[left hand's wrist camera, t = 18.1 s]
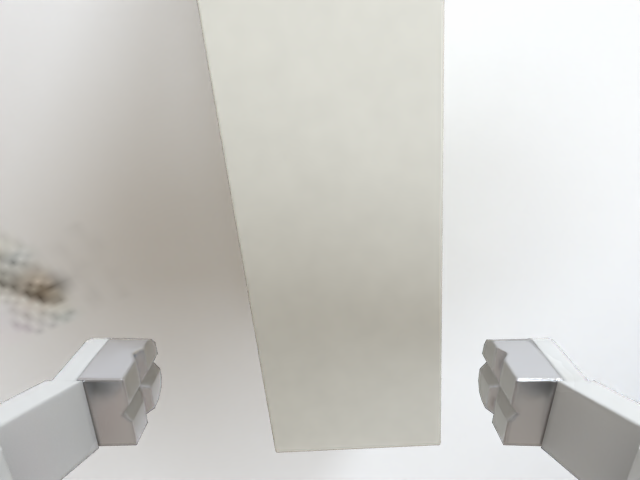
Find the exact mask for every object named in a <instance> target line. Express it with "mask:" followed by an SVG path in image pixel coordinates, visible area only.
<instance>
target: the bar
mask: <svg viewBox="0 0 640 480" xmlns="http://www.w3.org/2000/svg"><path fill="white" fill-rule="evenodd" d="M197 5H198V10H199V16H200V22H201V28H202V33H203V39H204V45H205V50H206V56H207V62H208V68H209V73H210V79H211V85H212V91H213V96H214V102H215V108H216V113H217V119H218V125H219V131H220V136H221V142H222V148H223V153H224V159H225V165H226V171H227V176H228V182H229V188H230V193H231V199H232V205H233V211H234V216H235V222H236V228H237V234H238V239H239V245H240V251H241V256H242V262H243V268H244V274H245V279H246V285H247V291H248V296H249V302H250V308H251V314H252V319H253V325H254V331H255V336H256V342H257V348H258V354H259V359H260V365H261V371H262V377H263V382H264V388H265V394H266V399H267V405H268V411H269V417H270V422H271V428H272V434H273V439H274V445H275V451H276V452H277V453H279V452H300V451H322V450H343V449H365V448H386V447H408V446H429V445H440V443H441V342H442V224H443V106H444V0H197Z"/></svg>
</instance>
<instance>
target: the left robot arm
mask: <svg viewBox="0 0 640 480" xmlns="http://www.w3.org/2000/svg"><path fill="white" fill-rule="evenodd" d="M157 354H158V353H157V348H156V343H155V342H154V341H153V340H152V339H126V338H112V339H111V338H92V339H88V340H87V341H86V342H85V343H84V344H83V345H82V346H81V347H80V349H79V350H78V351H77V352H76V353H75V354H74V356H73V357H72V358H71V359H70V360H69V361H68V362H67V364H66V365H65V366H64V367H63V368H62V369H61V371H60V372H59V373H58V374H57V375H56V376H55V378H54V379H53V380H52V381H44V382H42V383H40V384H38V385H36V386H34V387H32V388H30V389H28V390H26V391H24V392H22V393H20V394H18V395H16V396H14V397H12V398H10V399H8V400H6V401H4V402H2V403H0V480H62V479H63V478H64V477H65V476H66V475H68V474H69V473H70V472H71V471H72V470H74V469H75V468H76V467H77V466H78V465H79V464H81V463H82V462H83V461H84V460H85V459H87V458H88V457H89V456H90V455H91V454H92V453H94V452H95V451H96V450H97V449H98V448H99V446H119V445H137V443H138V441H139V439H140V437H141V435H142V433H143V431H144V429H145V427H146V425H147V423H148V421H147V415H146V414H147V413H149V412H150V411H151V410H153V409H154V408H155V406H156V404H157V402H158V400H159V396H160V391H161V379H162V377H161V371H160V368H159V367H158V366H157V365H156V364H155V363H154V362H153V361H154V360H155V358H156V356H157ZM482 354H483V356H484V358H485V360H486V361H487V362H486V363H485V364H484V365H483V366H482V367H481V368H480V371H479V379H478V383H479V393H480V396H481V400H482V402H483V404H484V406H485V408H486V409H487V410H489V411H490V412H491V413H493V414H494V415H493V421H492V423H493V425H494V427H495V429H496V431H497V433H498V435H499V437H500V439H501V441H502V443H503V445H520V446H541V448H542V449H543V450H544V451H545V452H547V453H548V454H549V455H550V456H551V457H552V458H554V459H555V460H556V461H557V462H558V463H560V464H561V465H562V466H563V467H564V468H565V469H567V470H568V471H569V472H570V473H571V474H573V475H574V476H575V477H576V478H577V479H578V480H640V403H638V402H636V401H634V400H632V399H630V398H628V397H626V396H624V395H622V394H620V393H618V392H616V391H614V390H612V389H610V388H608V387H606V386H604V385H602V384H600V383H598V382H596V381H588V380H587V379H586V378H585V376H584V375H583V374H582V373H581V372H580V371H579V369H578V368H577V367H576V366H575V365H574V364H573V363H572V361H571V360H570V359H569V358H568V357H567V356H566V354H565V353H564V352H563V351H562V350H561V349H560V347H559V346H558V345H557V344H556V343H555V342H554V341H553V340H552V339H550V338H529V339H493V340H486V342H485V344H484V347H483V353H482Z"/></svg>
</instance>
